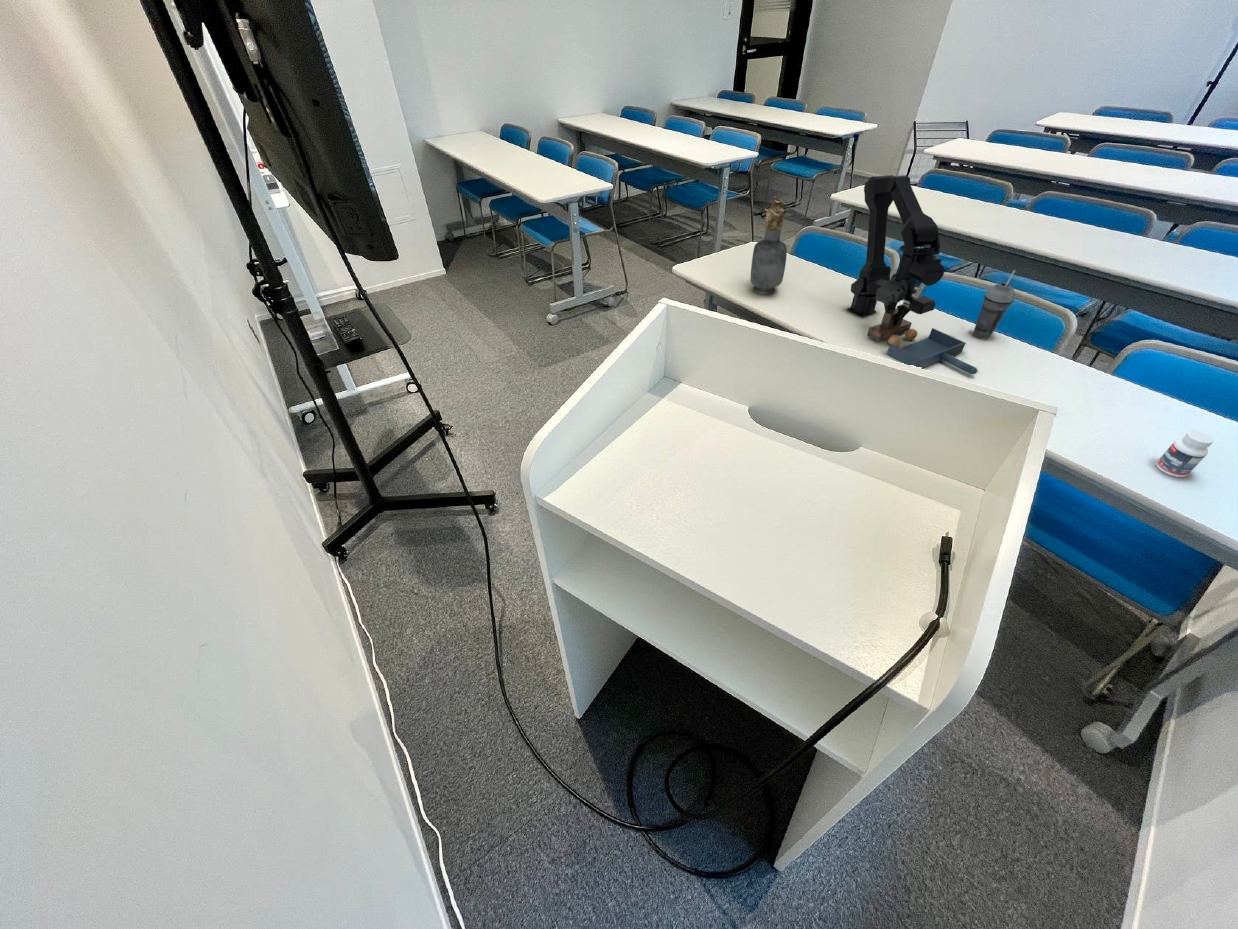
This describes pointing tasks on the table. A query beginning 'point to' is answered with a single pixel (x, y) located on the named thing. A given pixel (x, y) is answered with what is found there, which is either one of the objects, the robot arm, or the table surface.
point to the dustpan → (932, 352)
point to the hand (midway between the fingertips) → (891, 323)
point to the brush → (888, 326)
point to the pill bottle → (1185, 454)
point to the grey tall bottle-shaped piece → (770, 252)
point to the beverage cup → (994, 308)
